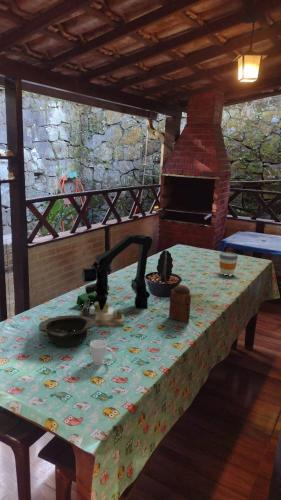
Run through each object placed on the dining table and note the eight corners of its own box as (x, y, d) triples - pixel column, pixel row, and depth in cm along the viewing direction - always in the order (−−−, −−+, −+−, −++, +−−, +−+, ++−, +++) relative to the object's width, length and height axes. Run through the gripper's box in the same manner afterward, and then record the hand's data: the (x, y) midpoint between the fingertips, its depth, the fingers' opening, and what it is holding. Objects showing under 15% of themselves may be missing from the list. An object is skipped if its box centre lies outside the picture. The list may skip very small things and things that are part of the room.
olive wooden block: (108, 309, 193) (108, 302, 192) (108, 312, 189) (108, 305, 188) (95, 308, 192) (95, 301, 191) (94, 312, 189) (94, 304, 188)
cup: (94, 356, 148) (94, 337, 146) (117, 361, 145) (117, 343, 143) (86, 364, 142) (86, 345, 140) (109, 370, 138) (109, 351, 137)
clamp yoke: (89, 316, 184) (89, 299, 182) (86, 325, 174) (86, 308, 171) (85, 316, 184) (85, 299, 182) (83, 325, 174) (83, 308, 171)
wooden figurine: (192, 319, 186) (195, 286, 182) (187, 324, 181) (190, 289, 176) (171, 314, 192) (173, 281, 187) (166, 318, 186) (168, 284, 182)
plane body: (124, 319, 183) (124, 308, 181) (124, 325, 176) (124, 314, 175) (80, 318, 182) (80, 306, 181) (78, 324, 175) (78, 312, 174)
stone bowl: (70, 358, 145) (68, 336, 143) (27, 344, 159) (24, 324, 157) (107, 334, 166) (106, 315, 164) (66, 323, 179) (65, 305, 177)
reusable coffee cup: (238, 273, 265) (240, 253, 261) (232, 278, 255) (234, 257, 251) (221, 270, 272) (223, 251, 268) (215, 274, 261) (217, 254, 258)
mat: (113, 308, 195) (113, 307, 195) (112, 315, 187) (112, 314, 186) (91, 308, 195) (91, 307, 195) (89, 315, 186) (89, 313, 186)
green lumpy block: (85, 314, 197) (83, 303, 192) (77, 309, 200) (75, 297, 194) (100, 301, 204) (99, 290, 199) (92, 296, 207) (91, 285, 201)
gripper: (88, 273, 195) (88, 301, 199) (83, 285, 177) (83, 315, 181) (109, 274, 196) (108, 301, 199) (107, 286, 178) (106, 315, 181)
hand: (101, 308), depth 190 cm, fingers open, 5 cm apart
